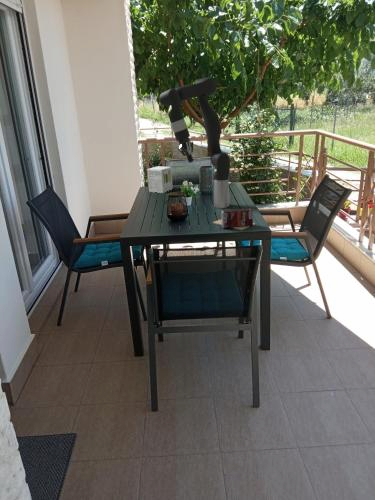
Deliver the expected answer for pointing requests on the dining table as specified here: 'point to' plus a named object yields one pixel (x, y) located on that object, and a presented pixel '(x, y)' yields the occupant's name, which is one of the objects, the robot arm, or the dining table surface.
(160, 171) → the supplement box
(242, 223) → the supplement box
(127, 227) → the dining table surface
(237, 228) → the cork placemat
